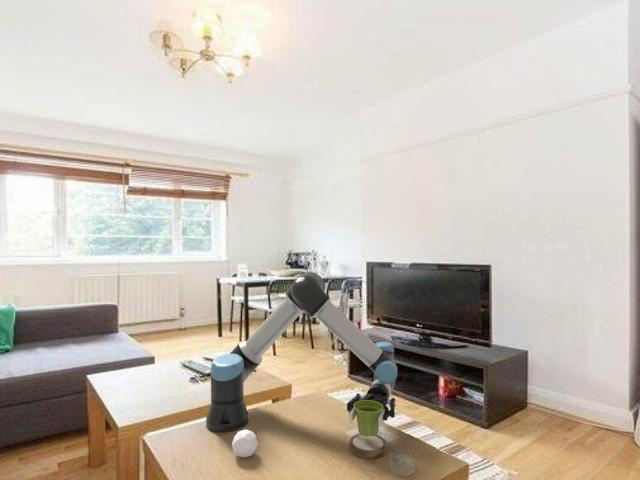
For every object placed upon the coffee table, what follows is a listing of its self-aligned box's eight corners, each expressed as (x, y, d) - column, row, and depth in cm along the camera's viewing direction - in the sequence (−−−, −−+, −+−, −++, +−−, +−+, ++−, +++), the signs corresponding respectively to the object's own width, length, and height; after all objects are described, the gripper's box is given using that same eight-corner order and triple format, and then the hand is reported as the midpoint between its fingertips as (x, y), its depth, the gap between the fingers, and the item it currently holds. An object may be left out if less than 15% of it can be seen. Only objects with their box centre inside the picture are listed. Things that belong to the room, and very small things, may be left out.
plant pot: (364, 423, 137) (363, 397, 137) (388, 431, 131) (388, 404, 131) (347, 433, 130) (347, 406, 130) (373, 443, 124) (373, 414, 124)
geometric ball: (249, 460, 128) (263, 436, 131) (245, 465, 121) (260, 439, 123) (229, 447, 130) (243, 423, 132) (224, 450, 122) (240, 425, 125)
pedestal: (374, 463, 122) (374, 456, 122) (341, 450, 129) (341, 443, 129) (393, 446, 131) (393, 440, 131) (362, 435, 139) (362, 429, 139)
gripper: (408, 407, 144) (399, 437, 122) (350, 399, 151) (332, 427, 129) (408, 386, 144) (399, 412, 122) (350, 379, 151) (332, 403, 129)
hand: (365, 420), depth 126 cm, fingers closed on plant pot, 8 cm apart
